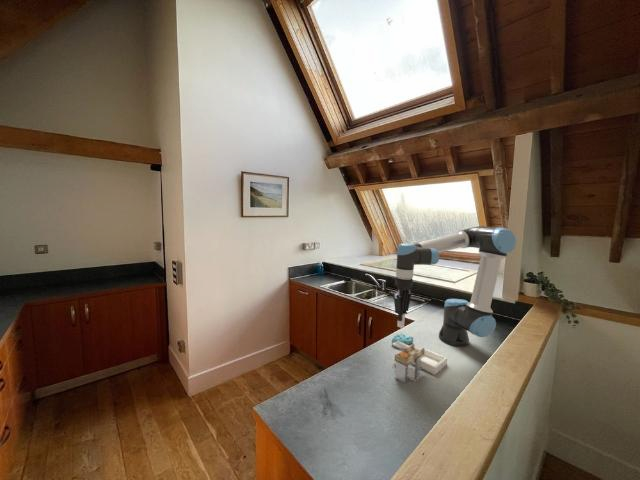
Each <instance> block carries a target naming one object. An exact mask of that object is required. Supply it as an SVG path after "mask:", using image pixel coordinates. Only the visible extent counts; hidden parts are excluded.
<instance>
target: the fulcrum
mask: <svg viewBox="0 0 640 480" xmlns="http://www.w3.org/2000/svg"><path fill="white" fill-rule="evenodd" d="M395 362H396V361H395ZM414 362H415V365H414V367H415V368H414V369H413V368H411V367H410V366H409V365H408V366H407V367H406V366H404V365H402V364H400V363H398V362H396V363H395V370H394V373H395V374H394V377H395V379H397V380H398V381H400V382H402V383H404V384H405V383H407V382H408V380H409V381H411V382H412V383H416V382H418V381H419V379H421V378H422V377H423V376H424V374H423V373H421V368H420V362H421V359H419V358H418V359H417V360H415V361H414Z"/></svg>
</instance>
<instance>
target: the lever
mask: <svg viewBox="0 0 640 480" xmlns="http://www.w3.org/2000/svg"><path fill="white" fill-rule="evenodd" d="M391 345H392V346H393V347H395V348H397V349H399V350H400V351H399V352H396V353H395V354H394V362H398V363H400V364H402V365H404V366H406V367H407V366H408V367H409V366H410V365H412V364H411V363H412V362H414V361H415V360H417V359H418V358H419V357H421V356H422V355H424V351H425V349H426V348H424V347H421V348H422V349H421V348H420V349H421V350H420V349H417V348H416V347H415V344H414V343H411V344H404V343H402V342H399V341H396V342H394V343H392V342H391ZM402 352H406V353H407V355H408V358H407V359H405V358H403V357H400V354H401V353H402Z"/></svg>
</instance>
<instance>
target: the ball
mask: <svg viewBox="0 0 640 480" xmlns="http://www.w3.org/2000/svg"><path fill="white" fill-rule="evenodd" d="M400 357H403V358H405V359H407V358H408V355H407V353H406V352H402V353H401V354H400Z"/></svg>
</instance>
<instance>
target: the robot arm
mask: <svg viewBox="0 0 640 480" xmlns="http://www.w3.org/2000/svg"><path fill="white" fill-rule="evenodd" d="M516 245H517V239H516V236H515V234H514V232H513V231H512V230H510V229H509V228H505V227H502V226H501V227H500V226H499V227H498V226H484V225H480V226H474V227H468V228H464V229H461V230H457V232H456V233H452V234H449V235H444V236H440V237H437V238H433V239H429V240H423V241H419V242H415V243H399V244H398V246H397V252H396V269H395V276H396V277H395V279H394V280H395V282H394V284H395V286H396V287H397V289H396V293H394V294H393V295H392V296H393V300H394V302H393V303H394V312H395V314H397V323H396V324H397V326H396V327H398V328H400V329H404V328H405V319H406V315H407V314H409V313H408V311H409V308H410V302H411V298H412V294H413V290H411V288H412V287H413V283H414V282H413V281H414V279H413V278H414V267H415V266H420V265H422V266H423V265H424V266H426V265H428V266H431V265H432V266H433V265H436V264H438V263H439V261H440V253H442V252H446V251H447V252H448V251H451V250H455V249H459V248H462V249H467V248H475V249H478V253H479V254H480V258H479V259H480V260H479V264H478V269H477V273H476V276H475V280H474V286H473V289H472V294H471V298H470V301H468V300H466V299H462V298H461V299H459V298H447V299H446V300H445V301H444V308H443V320H442V321H443V323H442V325H441V328H440V330H439V332H438V338H439V340H440V341H441V342H443V343H445V344H447V345H450V346H453V347H467V346H469V344H470V337H469V333H468V332H470V333H471V334H472V335H474V336H476V337H479V338H485V337H486V338H487V337H489V335H491V334H492V333H493V332H494V331H495V330H496V325H497V322H496V319H495V318H494V317H493V313H494V312H493V310H492V308H491V305H492V301H493V297H494V292H495V288H496V286H497V285H496V284H497V280H498V275H499V272H500V268H501V264H502V260H504V259H505V258H507V256H508V254H510V253H512V252H513V250H514V249H515V248H516ZM514 251H515V250H514Z"/></svg>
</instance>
